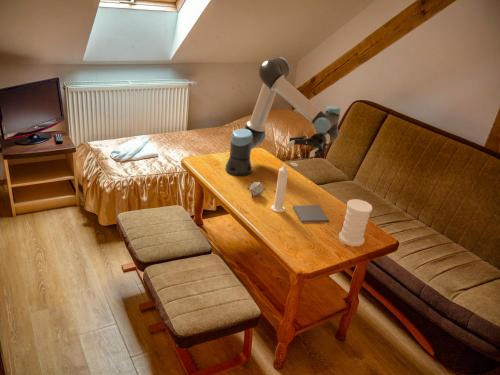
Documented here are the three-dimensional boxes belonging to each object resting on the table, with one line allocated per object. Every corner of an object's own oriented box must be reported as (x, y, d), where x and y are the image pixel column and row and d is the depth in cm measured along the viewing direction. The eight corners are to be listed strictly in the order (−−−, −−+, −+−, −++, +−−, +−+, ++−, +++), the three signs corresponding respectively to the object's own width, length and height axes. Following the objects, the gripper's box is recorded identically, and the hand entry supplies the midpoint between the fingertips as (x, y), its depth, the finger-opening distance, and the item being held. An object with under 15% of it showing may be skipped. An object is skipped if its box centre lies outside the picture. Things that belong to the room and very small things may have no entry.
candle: (286, 212, 215) (294, 166, 204) (273, 213, 213) (280, 166, 202) (282, 205, 221) (289, 160, 210) (268, 205, 219) (275, 160, 208)
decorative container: (334, 239, 198) (342, 205, 190) (344, 229, 207) (352, 196, 199) (358, 249, 193) (367, 215, 185) (367, 238, 202) (376, 205, 193)
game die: (257, 203, 228) (263, 195, 219) (243, 195, 227) (248, 187, 219) (264, 190, 232) (270, 182, 223) (250, 182, 232) (255, 174, 223)
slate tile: (292, 207, 220) (292, 205, 220) (318, 207, 224) (318, 205, 223) (301, 222, 208) (301, 220, 208) (328, 221, 212) (329, 219, 211)
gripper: (340, 153, 222) (319, 165, 206) (298, 139, 234) (276, 149, 219) (342, 139, 218) (322, 150, 203) (300, 126, 231) (278, 135, 215)
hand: (298, 150), depth 211 cm, fingers open, 13 cm apart
